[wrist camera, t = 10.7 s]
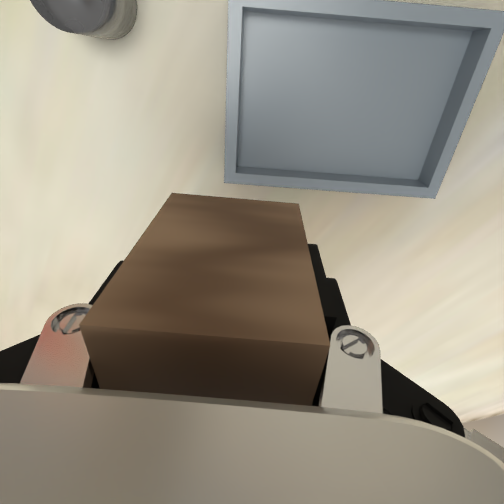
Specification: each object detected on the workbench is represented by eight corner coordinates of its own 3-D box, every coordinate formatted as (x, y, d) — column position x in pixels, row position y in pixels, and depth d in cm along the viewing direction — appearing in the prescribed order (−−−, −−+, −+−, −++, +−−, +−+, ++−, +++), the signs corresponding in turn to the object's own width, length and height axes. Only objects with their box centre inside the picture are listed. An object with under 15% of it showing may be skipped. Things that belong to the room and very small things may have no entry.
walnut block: (298, 204, 12) (330, 345, 6) (282, 299, 15) (293, 462, 9) (171, 192, 12) (79, 324, 6) (178, 291, 15) (119, 448, 9)
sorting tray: (485, 17, 24) (512, 11, 21) (420, 187, 31) (435, 198, 29) (232, -5, 23) (228, -14, 21) (227, 173, 31) (224, 182, 28)
